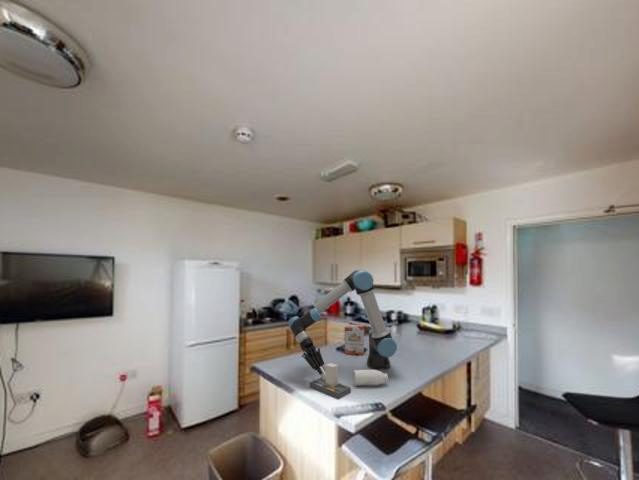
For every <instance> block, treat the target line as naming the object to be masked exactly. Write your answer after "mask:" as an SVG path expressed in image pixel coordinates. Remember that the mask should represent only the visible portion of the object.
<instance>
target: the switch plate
mask: <svg viewBox="0 0 639 480" xmlns="http://www.w3.org/2000/svg"><path fill="white" fill-rule="evenodd" d="M309 388H311V389H314V390H316V391H318V392H320V393H323V394H324V395H328V396H331V397H333V398H335V399H338V400H339V399H341V398H343V397H345V396H347V395H349V394H350V393H351V392H352V387H351V386H348V385H347V384H346V385H345V384H343V383H340V382H338V385H337V386H335V387H333V386H331V385H328V384H326V380H323V379H322V377H321V376H320V377H318V378H317V379H313V380H312V381H309Z"/></svg>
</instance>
